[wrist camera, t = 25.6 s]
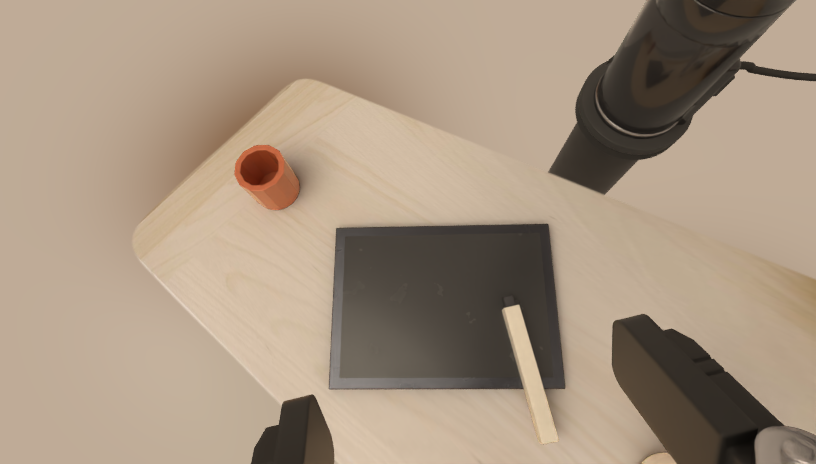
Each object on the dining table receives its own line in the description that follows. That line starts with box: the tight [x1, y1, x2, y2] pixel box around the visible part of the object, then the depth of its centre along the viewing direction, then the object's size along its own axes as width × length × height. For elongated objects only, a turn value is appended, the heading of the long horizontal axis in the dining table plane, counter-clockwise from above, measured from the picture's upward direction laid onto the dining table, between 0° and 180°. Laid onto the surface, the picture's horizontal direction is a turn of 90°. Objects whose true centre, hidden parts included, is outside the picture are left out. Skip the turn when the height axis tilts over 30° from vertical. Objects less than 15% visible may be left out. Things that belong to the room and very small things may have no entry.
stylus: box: [502, 296, 559, 445], centre depth 41 cm, size 2×2×13 cm
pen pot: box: [234, 145, 300, 210], centre depth 47 cm, size 5×5×6 cm
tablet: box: [329, 224, 565, 389], centre depth 44 cm, size 22×16×1 cm
